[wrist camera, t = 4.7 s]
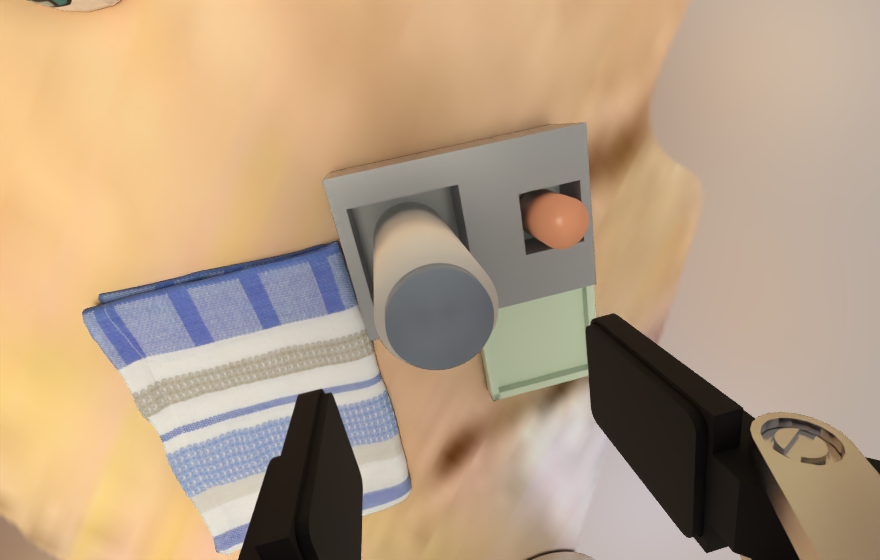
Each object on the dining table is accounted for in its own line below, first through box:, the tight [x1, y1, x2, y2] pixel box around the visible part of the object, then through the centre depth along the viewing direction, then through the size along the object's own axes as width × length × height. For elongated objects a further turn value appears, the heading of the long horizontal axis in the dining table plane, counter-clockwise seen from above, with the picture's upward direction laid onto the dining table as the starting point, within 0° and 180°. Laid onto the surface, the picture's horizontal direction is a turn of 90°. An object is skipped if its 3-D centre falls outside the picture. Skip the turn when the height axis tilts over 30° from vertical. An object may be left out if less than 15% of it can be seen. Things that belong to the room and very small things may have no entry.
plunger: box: [519, 189, 589, 249], centre depth 25 cm, size 3×3×4 cm
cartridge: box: [373, 202, 499, 370], centre depth 21 cm, size 5×5×13 cm
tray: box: [480, 285, 596, 401], centre depth 32 cm, size 9×9×2 cm
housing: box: [322, 123, 596, 341], centre depth 27 cm, size 10×15×5 cm, turn 101°
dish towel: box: [82, 241, 412, 555], centre depth 31 cm, size 17×24×3 cm
